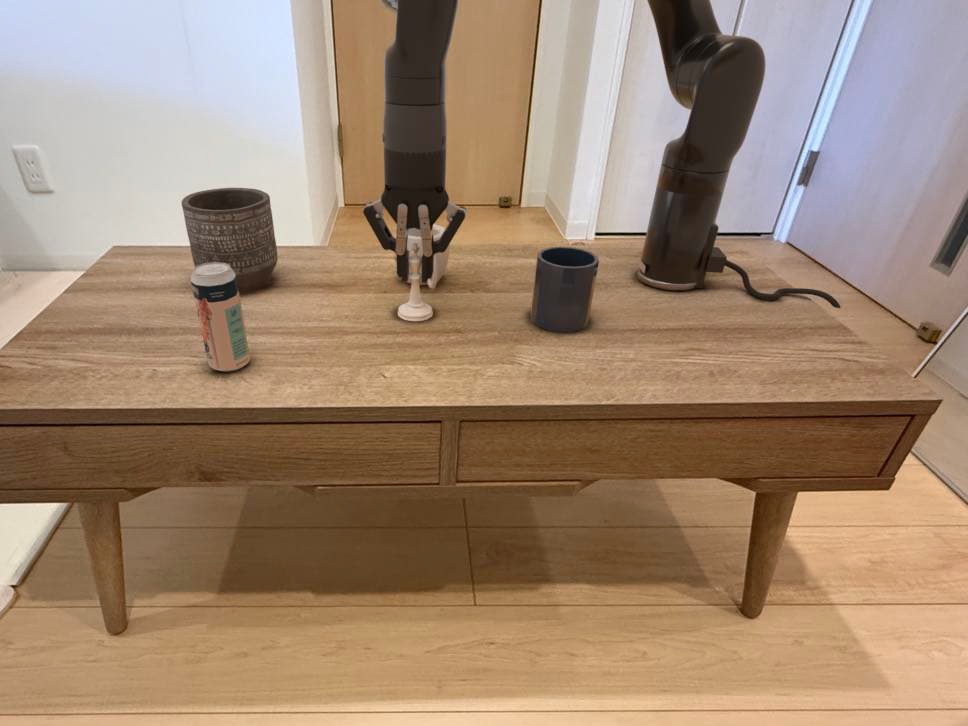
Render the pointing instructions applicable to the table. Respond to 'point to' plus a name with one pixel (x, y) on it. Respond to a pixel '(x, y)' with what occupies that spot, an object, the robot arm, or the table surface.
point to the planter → (233, 233)
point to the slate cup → (563, 288)
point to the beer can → (220, 316)
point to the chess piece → (415, 293)
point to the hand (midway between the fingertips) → (415, 279)
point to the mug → (439, 258)
